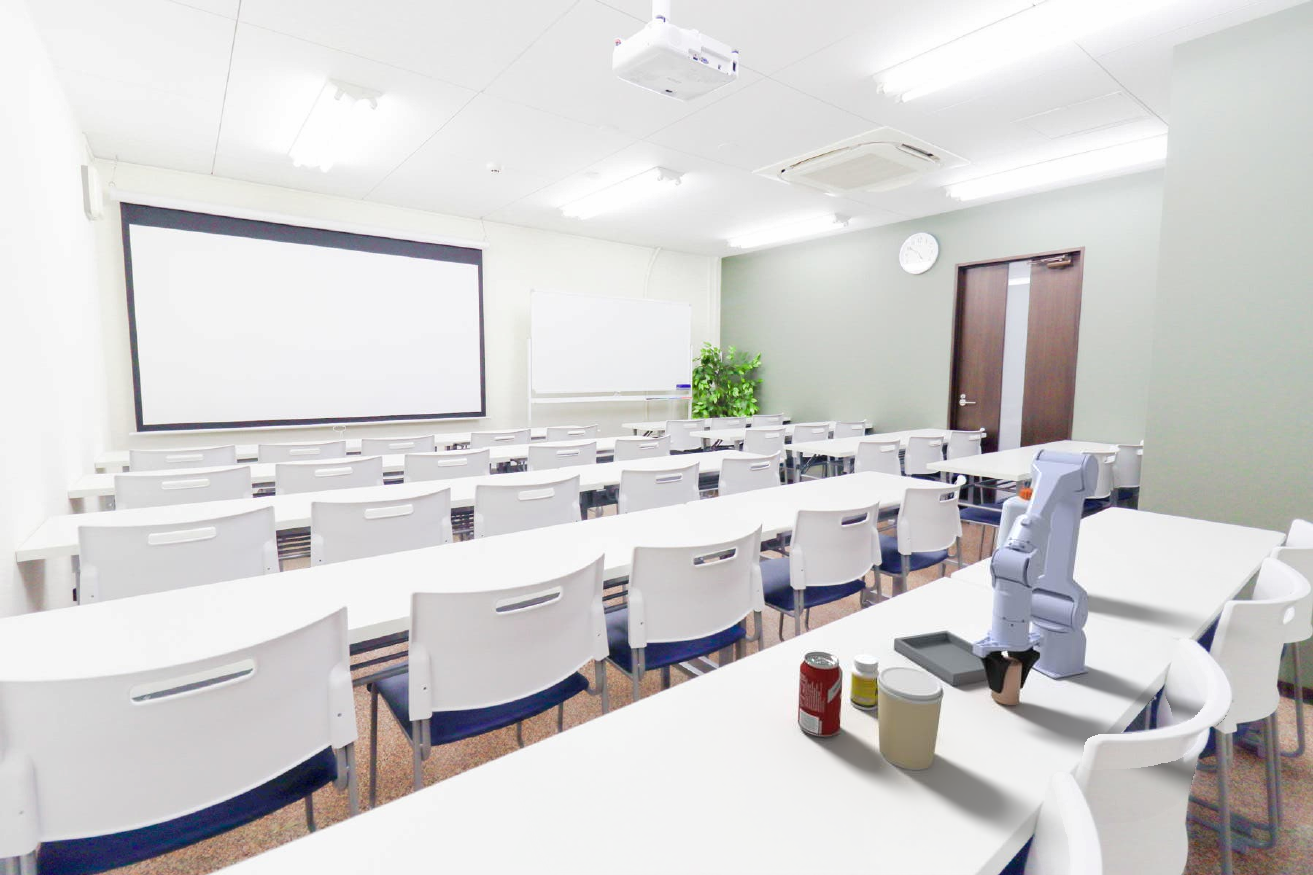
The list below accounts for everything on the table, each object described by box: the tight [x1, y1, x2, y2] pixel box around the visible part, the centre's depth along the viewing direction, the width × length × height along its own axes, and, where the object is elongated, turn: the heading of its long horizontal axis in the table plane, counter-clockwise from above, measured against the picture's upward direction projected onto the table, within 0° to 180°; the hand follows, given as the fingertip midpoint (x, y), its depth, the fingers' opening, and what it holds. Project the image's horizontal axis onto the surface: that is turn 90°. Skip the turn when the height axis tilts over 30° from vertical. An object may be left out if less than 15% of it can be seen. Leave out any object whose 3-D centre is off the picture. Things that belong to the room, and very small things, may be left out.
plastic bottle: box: [990, 487, 1058, 593], centre depth 164 cm, size 15×15×28 cm
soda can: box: [797, 651, 843, 738], centre depth 99 cm, size 7×7×12 cm
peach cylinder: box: [990, 655, 1022, 706], centre depth 108 cm, size 4×4×7 cm
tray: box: [893, 630, 988, 687], centre depth 123 cm, size 14×16×2 cm
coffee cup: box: [877, 666, 945, 771], centre depth 92 cm, size 9×9×12 cm
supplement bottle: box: [849, 653, 880, 711], centre depth 107 cm, size 5×5×8 cm
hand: (1005, 688), depth 108 cm, fingers closed on peach cylinder, 4 cm apart
